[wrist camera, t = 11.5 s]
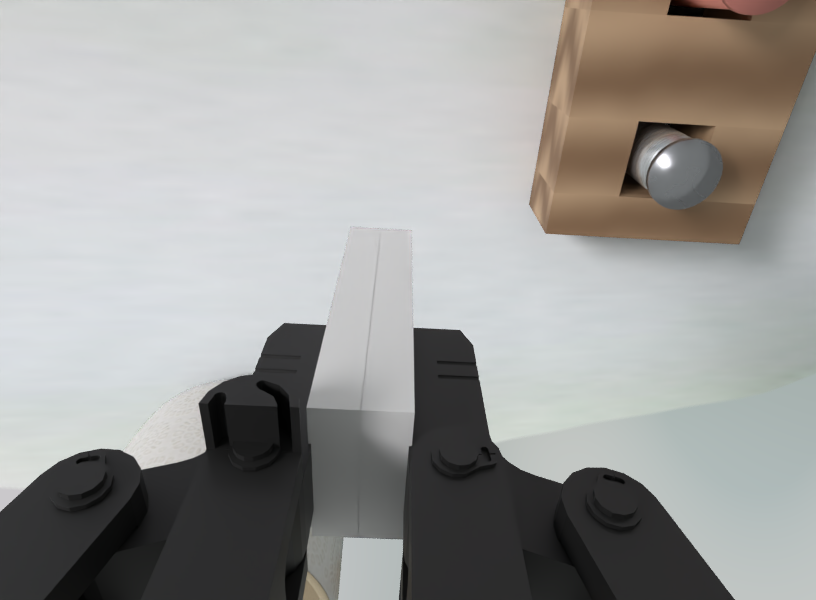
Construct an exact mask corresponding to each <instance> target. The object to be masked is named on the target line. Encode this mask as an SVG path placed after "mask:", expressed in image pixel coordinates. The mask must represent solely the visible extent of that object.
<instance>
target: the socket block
mask: <svg viewBox="0 0 816 600" xmlns="http://www.w3.org/2000/svg"><path fill="white" fill-rule="evenodd" d="M670 1H671V0H566V2H565V7H564V13H563V19H562V24H561V30H560V35H559V41H558V47H557V52H556V58H555V63H554V69H553V74H552V80H551V86H550V91H549V97H548V102H547V108H546V113H545V119H544V125H543V130H542V136H541V141H540V147H539V153H538V158H537V164H536V169H535V175H534V180H533V186H532V192H531V197H530V203H529V205H530V207H531V208H532V210H533V212H534V214H535V216H536V217H537V219H538V221H539V223H540V224H541V226H542V228H543V230H544V231H545V233H546V234H563V235H581V236H599V237H617V238H635V239H653V240H671V241H689V242H707V243H725V244H739V243H740V241H741V238H742V236H743V233H744V230H745V228H746V225H747V223H748V220H749V218H750V215H751V213H752V210H753V208H754V205H755V203H756V200H757V198H758V195H759V193H760V190H761V188H762V185H763V183H764V180H765V178H766V175H767V173H768V170H769V168H770V165H771V163H772V160H773V157H774V155H775V152H776V150H777V147H778V145H779V142H780V140H781V137H782V135H783V132H784V130H785V127H786V125H787V122H788V120H789V117H790V115H791V112H792V110H793V107H794V105H795V102H796V100H797V97H798V95H799V92H800V90H801V87H802V84H803V82H804V79H805V77H806V74H807V72H808V69H809V67H810V64H811V62H812V59H813V57H814V54H815V52H816V0H788V1H787V2H786V3H785V4H783V5H782V6H780V7H779V8H777V9H775V10H773V11H771V12H768V13H765V14H761V15H743V14H738V13H735V12H733V11H731V10H730V9H713V8H705V9H704V13H703V16H702V17H701V16H686V15H671V14H667V13H668V9H669V5H670ZM639 121H643V122H659V123H671V125H670V127H672V128H674V129H676V130H678V131H680V132H682V133H683V134H685V135H687V136H689V137H691V138H699V139H703V140H705V141H707V142H709V143H711V144H712V145H714V146H715V147H716V148H717V149H718V151H719V152H720V154H721V157H722V161H723V171H722V175H721V178H720V181H719V183H718V185H717V187H716V188H715V189H714V191H713V192H712V193H711V194H710V195H709V196H708V197H707V198H706V199H705V200H703V201H702V202H700V203H699V204H697V205H695V206H693V207H690V208H686V209H680V210H673V209H668V208H665V207H663V206H661V205H659V204H658V203H657V202H656V201H655V200H654V199H653V198H652V197H651V196H650V194H649V192H648V190H647V189H646V188H644V187H643V186H642V185H641V184H640V183H638V182H637V181H636V180H635V179H634V178H632V177H631V176H630V175H629V174H628V173H625V172H626V168H627V164H628V160H629V157H630V153H631V149H632V145H633V142H634V138H635V134H636V130H637V126H638V123H639Z"/></svg>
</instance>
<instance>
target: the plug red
mask: <svg viewBox="0 0 816 600" xmlns="http://www.w3.org/2000/svg"><path fill="white" fill-rule="evenodd" d="M787 1H788V0H671V1H670V5H672V6H680V7H697V8H713V9H730V10H731V11H733V12H735V13H738V14H743V15H761V14H765V13H768V12H771V11H773V10H775V9H777V8H779V7H780V6H782V5H783V4H785V3H786V2H787Z"/></svg>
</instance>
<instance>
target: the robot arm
mask: <svg viewBox="0 0 816 600" xmlns="http://www.w3.org/2000/svg"><path fill="white" fill-rule="evenodd" d="M198 404H199V409H200V415H201V421H202V427H203V432H204V438H205V444H206V451H205V453H202V454H200V455H198V456H196V457H194V458H191V459H188V460H184V461H181V462H177V463H172V464H167V465H162V466H158V467H153V468H148V469H143V470H141V467H140V466H139V464H138V463H137V461H136V459H135V458H134V457H133V456H131V455H129V454H127V453H125V452H123V451H121V450H112V449H97V450H92V451H87V452H82V453H78V454H76V455H74V456H71V457H69V458H67V459H64V460H62V461H60V462H58V463H57V464H55V465H54V466H52V467H51V468H50V469H48V470H47V471H45V472H44V473H43V474H41V475H40V476H39V477H38V478H37V479H36V480H34V481H33V482H32V483H31V484H30V485H29V486H28V487H27V488H26V489H25V490H24V491H23V492H21V494H20V495H18V496H17V497H16V498H15V499H14V500H13V501H12V502H11V503H9V505H7V506H6V507H5V508H4V509H3V510H2V511H1V512H0V600H303V595H304V589H305V583H306V577H307V571H308V561H307V545H308V539H309V533H310V528H311V522H312V536H328V537H354V538H380V539H403V558H402V570H401V581H400V593H399V600H735V599H734V598H733V597H732V596H731V594H730V593H729V592H728V590H727V589H726V588H725V586H724V585H723V584H722V583H721V581H720V580H719V579H718V577H717V576H716V575H715V574H714V572H713V571H712V570H711V568H710V567H709V566H708V565H707V563H706V562H705V561H704V559H703V558H702V557H701V555H700V554H699V553H698V551H697V550H696V549H695V548H694V546H693V545H692V544H691V542H690V541H689V540H688V538H686V536H685V535H684V533H683V532H682V531H681V529H680V528H679V527H678V526H677V524H676V523H675V522H674V520H673V519H672V518H671V516H670V515H669V514H668V513H667V511H666V510H665V509H664V507H663V506H662V505H661V504H660V502H659V501H658V500H657V498H656V497H655V496H654V495H653V494H652V493H651V492H650V491H648V489H646V488H645V487H644V486H643V485H642V484H641V483H639V482H638V481H636V480H634V479H632V478H631V477H629V476H627V475H626V474H624V473H620V472H617V471H614V470H610V469H607V468H584V469H582V470H579V471H576V472H573V473H572V474H571V475H570V476H569V477H568V478H567V480H566V481H565V482H564V483H563V484H561V483H558V482H555V481H551V480H548V479H545V478H542V477H538V476H535V475H533V474H530V473H528V472H525V471H522V470H520V469H519V468H517V467H516V466H514V465H512V464H511V463H509V462H508V461H507V460H506V459H505V458H503V457H502V455H501V453H500V451H499V448H498V447H497V446H496V445H495V444H494V443H493V442H492V441H491V438H490V435H489V430H488V425H487V419H486V414H485V408H484V403H483V397H482V392H481V386H480V381H479V375H478V370H477V366H476V359H475V354H474V348H473V345H472V344H471V342H470V341H469V340H468V339H467V338H466V337H465V335H464V334H463V333H462V332H461V331H460V330H446V329H426V328H413V276H412V230H399V229H381V228H363V227H350V230H349V235H348V239H347V243H346V247H345V251H344V255H343V259H342V263H341V268H340V272H339V276H338V280H337V284H336V288H335V292H334V296H333V300H332V305H331V309H330V313H329V317H328V321H327V325H310V324H290V323H284V324H283V325H282V326H280V327H279V328H278V329H277V330H276V331H275V332H273V333H272V334H271V335H270V336H269V337H268V338H267V341H266V343H265V346H264V348H263V351H262V353H261V357H260V358H259V361H258V363H257V365H256V368H255V372H254V373H253V375H247V376H240V377H237V378H233V379H230V380H227V381H224V382H222V383H221V384H219V385H217V386H216V387H214V388H212V389H211V390H209V391H208V392H207V393H206V395H205V396H204V397H203V398H202V399H201V401H200V402H199V403H198Z"/></svg>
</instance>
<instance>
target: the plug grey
mask: <svg viewBox="0 0 816 600" xmlns="http://www.w3.org/2000/svg"><path fill="white" fill-rule="evenodd" d="M722 171H723V161H722V157H721V154H720V152H719V151H718V149H717V148H716V147H715V146H714V145H712V144H711V143H709V142H707V141H705V140H703V139H699V138H691V137H689V136H687V135H685V134H683V133H682V132H680V131H678V130H676V129H674V128H672V127H670V126H668V125H666V124H664V123H659V122H643V121H639V123H638V126H637V130H636V134H635V138H634V142H633V145H632V149H631V153H630V157H629V160H628V164H627V168H626V173H628V174H629V175H630V176H631V177H632V178H634V179H635V180H636V181H637V182H638V183H640V184H641V185H642V186H643V187H644V188H646V189H647V190H648V192H649V194H650V196H651V197H652V198H653V199H654V200H655V201H656V202H657V203H658V204H659V205H661V206H663V207H665V208H668V209H673V210H680V209H686V208H690V207H693V206H695V205H697V204H699V203H700V202H702V201H703V200H705V199H706V198H707V197H708V196H709V195H710V194H711V193H712V192H713V191H714V189H715V188H716V187H717V185H718V183H719V181H720V178H721V175H722Z"/></svg>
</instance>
